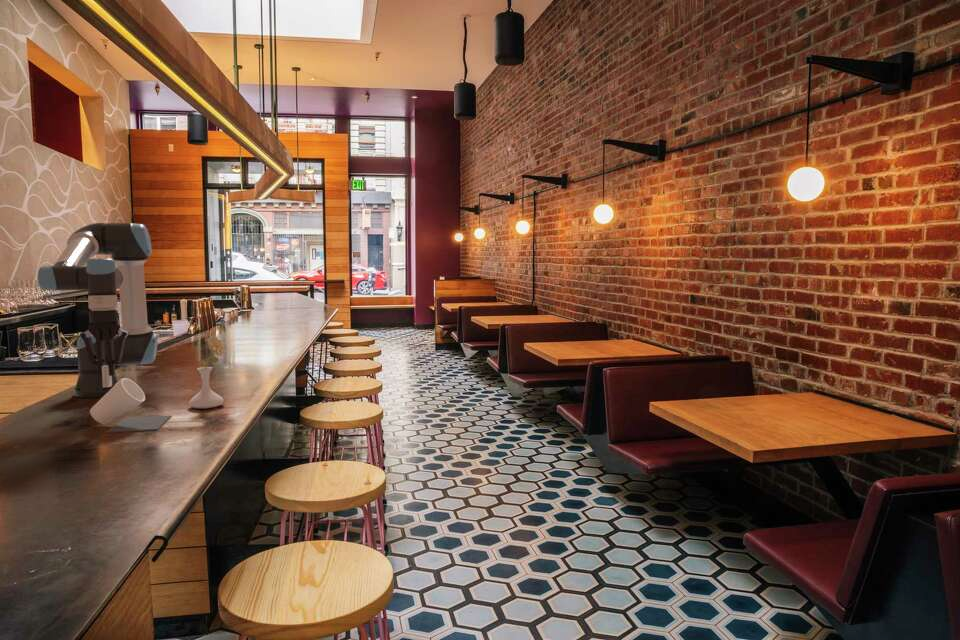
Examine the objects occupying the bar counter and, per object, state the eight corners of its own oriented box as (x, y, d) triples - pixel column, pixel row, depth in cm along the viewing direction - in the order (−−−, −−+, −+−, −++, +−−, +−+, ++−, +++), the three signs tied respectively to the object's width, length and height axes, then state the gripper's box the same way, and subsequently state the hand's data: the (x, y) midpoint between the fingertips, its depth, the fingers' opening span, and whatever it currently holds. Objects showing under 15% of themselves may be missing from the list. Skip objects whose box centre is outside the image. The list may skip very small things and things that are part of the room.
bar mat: (124, 418, 197) (124, 417, 197) (171, 416, 200) (171, 415, 200) (106, 432, 181) (106, 431, 181) (157, 430, 184) (157, 428, 184)
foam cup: (115, 430, 190) (149, 404, 191) (92, 425, 181) (128, 397, 182) (104, 407, 193) (137, 381, 194) (81, 401, 185) (116, 374, 186)
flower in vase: (201, 412, 205) (198, 339, 203) (181, 408, 211) (178, 336, 209) (235, 404, 216) (232, 335, 214) (215, 400, 222) (212, 332, 220)
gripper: (73, 310, 180) (78, 389, 181) (123, 309, 183) (127, 387, 184) (84, 309, 187) (88, 385, 189) (131, 308, 190) (135, 383, 191)
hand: (107, 386), depth 186 cm, fingers closed
